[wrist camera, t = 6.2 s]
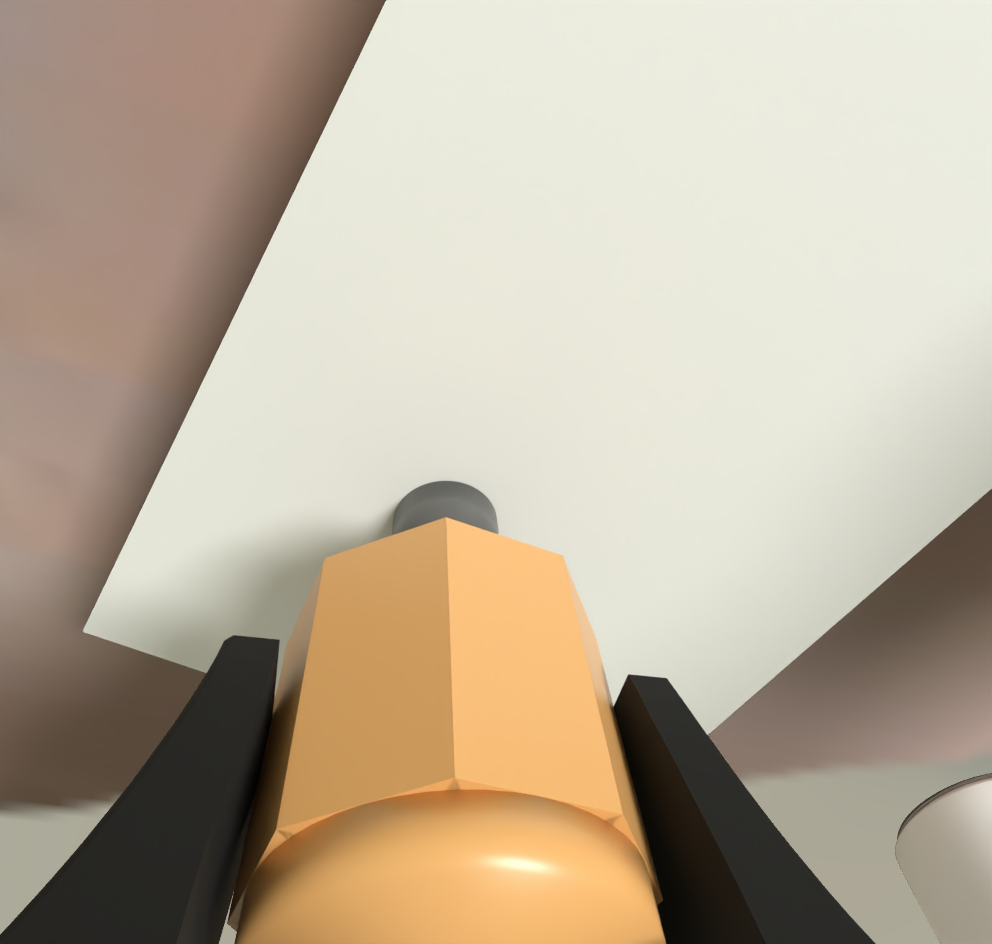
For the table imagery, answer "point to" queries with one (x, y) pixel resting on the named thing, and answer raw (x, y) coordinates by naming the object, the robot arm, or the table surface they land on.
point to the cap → (445, 760)
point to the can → (952, 860)
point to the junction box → (607, 328)
